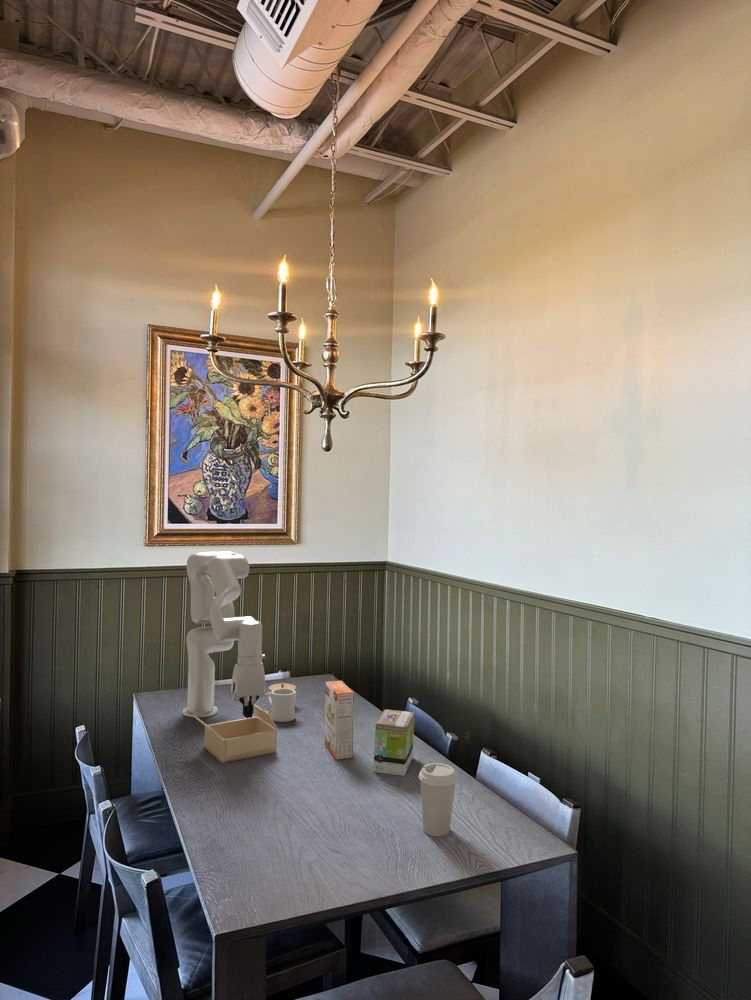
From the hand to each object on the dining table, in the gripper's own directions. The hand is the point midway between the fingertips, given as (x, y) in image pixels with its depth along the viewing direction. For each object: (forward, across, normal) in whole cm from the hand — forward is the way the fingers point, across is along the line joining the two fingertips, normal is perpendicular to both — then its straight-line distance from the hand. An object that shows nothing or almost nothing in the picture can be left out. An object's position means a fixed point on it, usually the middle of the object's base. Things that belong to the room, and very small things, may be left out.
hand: (247, 716), depth 215 cm
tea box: (+10, -33, +35) cm, 49 cm away
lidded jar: (+10, -28, -32) cm, 44 cm away
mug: (+10, -22, -21) cm, 32 cm away
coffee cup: (+10, -18, +73) cm, 76 cm away
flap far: (0, -5, 0) cm, 5 cm away
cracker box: (+10, -24, +17) cm, 31 cm away
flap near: (+1, +13, 0) cm, 13 cm away
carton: (+10, +2, 0) cm, 10 cm away
